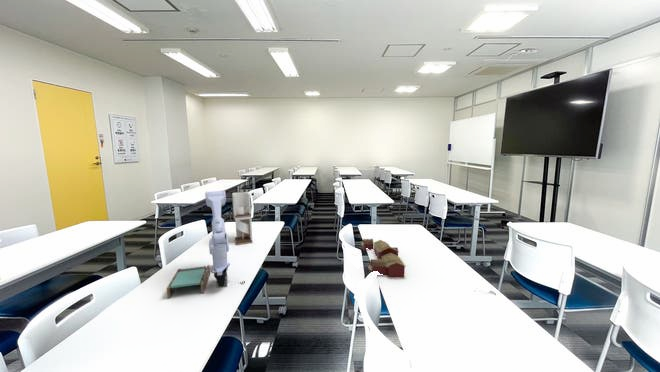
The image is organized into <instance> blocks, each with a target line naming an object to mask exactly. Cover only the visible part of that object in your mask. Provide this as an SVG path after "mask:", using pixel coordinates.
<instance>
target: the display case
mask: <svg viewBox="0 0 660 372" xmlns="http://www.w3.org/2000/svg"><path fill="white" fill-rule="evenodd" d="M231 196H232V210H233V211H232V213H233V218H234V221H235V235H236V237H234V242H235V244H236V246H240V245H247V244H253V234H252V233H253V230H252V229H253V228H252V208H251V206H252V205H251V204H252V203H251V194H250V192H248V191H243V192H242V191H241V192H232V195H231Z"/></svg>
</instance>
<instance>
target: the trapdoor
mask: <svg viewBox="0 0 660 372" xmlns="http://www.w3.org/2000/svg"><path fill="white" fill-rule="evenodd" d="M206 268H207V265H205V266H198V267H189V268H188V267H187V268H180V269H181V270H180V271H179V272H178V274H177V276H176V278H175V279H174V281H173V283H172V284H171V286H170V287H171V288H176V289H177V288H183V287H190V286H198V285H201V281H202V278H203V275H204V273H205V271H206Z"/></svg>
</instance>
